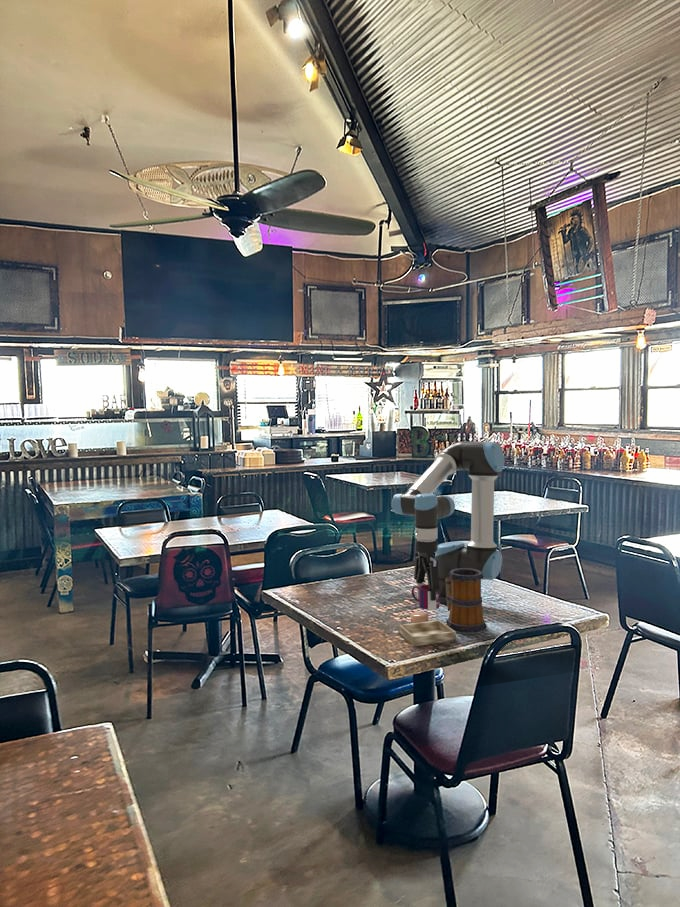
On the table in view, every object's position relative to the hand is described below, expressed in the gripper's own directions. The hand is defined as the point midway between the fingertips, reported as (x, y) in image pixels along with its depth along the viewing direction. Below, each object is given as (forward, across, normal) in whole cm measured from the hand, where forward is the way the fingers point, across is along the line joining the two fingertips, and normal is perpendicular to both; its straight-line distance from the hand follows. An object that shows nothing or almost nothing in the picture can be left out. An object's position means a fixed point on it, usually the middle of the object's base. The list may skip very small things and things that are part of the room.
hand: (426, 605), depth 216 cm
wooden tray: (+11, 0, 0) cm, 11 cm away
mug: (+11, -7, +17) cm, 22 cm away
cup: (0, -1, 0) cm, 1 cm away
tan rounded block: (+11, -13, +3) cm, 17 cm away
